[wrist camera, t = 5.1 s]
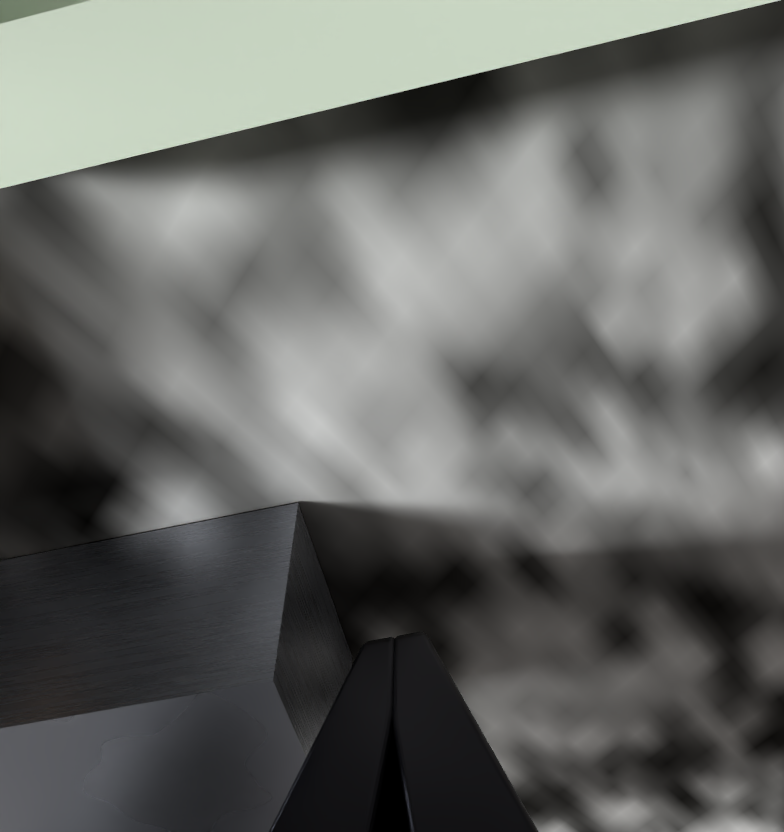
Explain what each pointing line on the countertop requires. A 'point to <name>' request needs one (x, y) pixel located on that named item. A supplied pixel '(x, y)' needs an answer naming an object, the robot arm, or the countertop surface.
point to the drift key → (165, 677)
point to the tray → (260, 62)
